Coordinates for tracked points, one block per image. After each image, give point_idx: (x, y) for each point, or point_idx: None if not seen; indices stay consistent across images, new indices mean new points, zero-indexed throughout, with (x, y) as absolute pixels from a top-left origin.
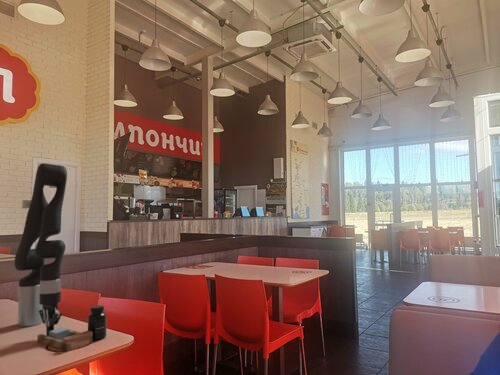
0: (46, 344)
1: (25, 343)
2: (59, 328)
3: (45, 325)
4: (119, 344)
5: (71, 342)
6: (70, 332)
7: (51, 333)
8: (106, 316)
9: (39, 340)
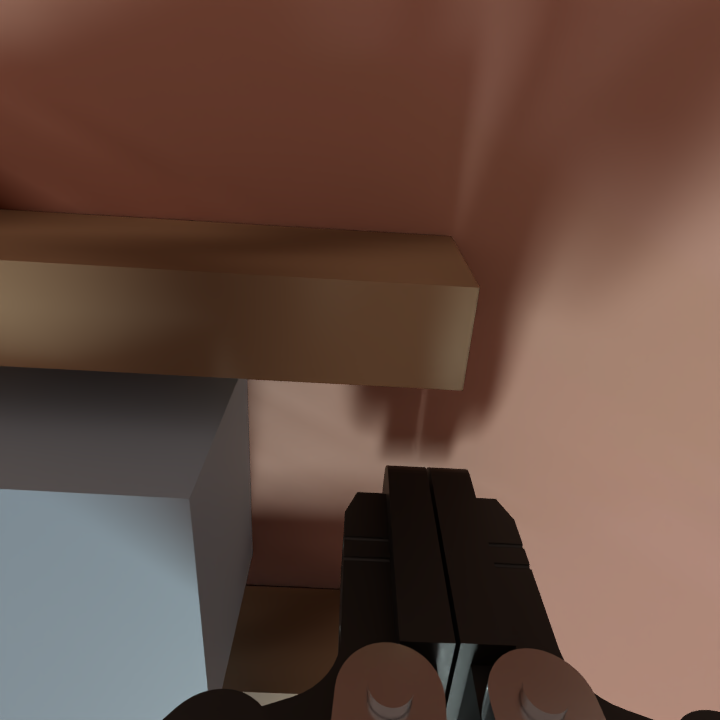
0: (57, 213)
1: (655, 28)
2: (176, 690)
3: (565, 663)
4: None
5: None
6: None
7: (64, 462)
8: None
9: (363, 244)
